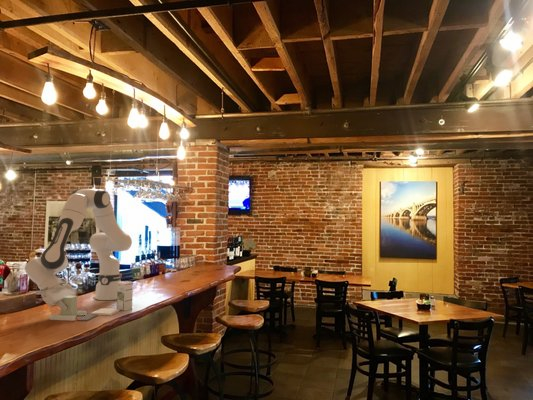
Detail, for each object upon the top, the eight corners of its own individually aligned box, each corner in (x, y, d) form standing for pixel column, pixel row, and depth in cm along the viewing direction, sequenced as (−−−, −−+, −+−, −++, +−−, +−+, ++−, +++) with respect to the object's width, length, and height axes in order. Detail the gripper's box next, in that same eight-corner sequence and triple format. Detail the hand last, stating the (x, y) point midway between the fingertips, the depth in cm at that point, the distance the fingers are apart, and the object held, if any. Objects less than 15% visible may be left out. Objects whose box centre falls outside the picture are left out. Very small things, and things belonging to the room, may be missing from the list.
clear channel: (63, 314, 196) (63, 310, 196) (98, 315, 195) (98, 311, 195) (50, 319, 185) (50, 315, 185) (87, 321, 184) (87, 316, 184)
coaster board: (100, 310, 206) (100, 308, 206) (119, 311, 205) (119, 309, 205) (91, 314, 196) (91, 312, 196) (110, 315, 195) (110, 313, 195)
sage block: (66, 316, 193) (67, 295, 193) (76, 316, 193) (77, 295, 193) (60, 318, 188) (61, 297, 188) (70, 318, 188) (71, 297, 188)
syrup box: (132, 309, 210) (133, 281, 211) (123, 311, 205) (124, 283, 206) (125, 307, 213) (126, 280, 214) (116, 309, 208) (117, 281, 209)
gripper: (43, 285, 181) (63, 307, 180) (67, 278, 201) (85, 298, 201) (33, 294, 181) (53, 317, 180) (58, 287, 201) (76, 307, 200)
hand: (70, 307), depth 190 cm, fingers open, 6 cm apart
